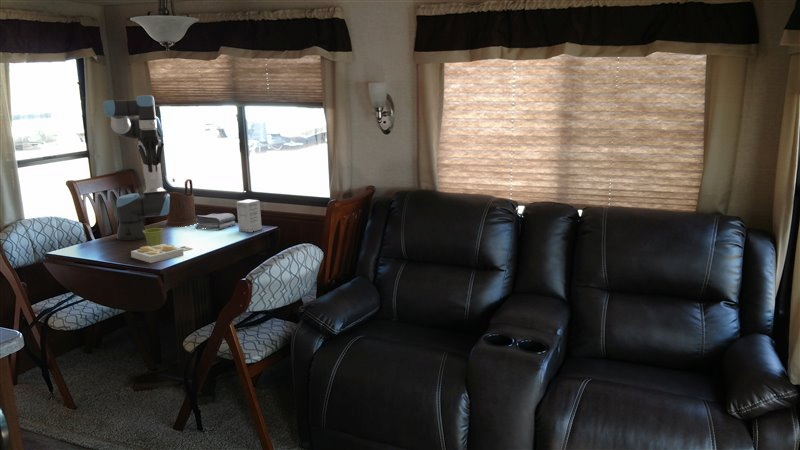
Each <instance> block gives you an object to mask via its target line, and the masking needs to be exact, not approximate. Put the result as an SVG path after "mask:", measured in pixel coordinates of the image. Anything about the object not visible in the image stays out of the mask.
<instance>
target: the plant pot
mask: <svg viewBox="0 0 800 450" xmlns="http://www.w3.org/2000/svg"><path fill="white" fill-rule="evenodd" d="M145 229H146V230H144V231H143V232H144V235H145V240H146V243H147V246H150V247H152V246H156V245H160V244H162V233H163V229H164V228H160V227H152V228H145Z"/></svg>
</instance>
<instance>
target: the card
mask: <svg viewBox="0 0 800 450" xmlns="http://www.w3.org/2000/svg"><path fill="white" fill-rule="evenodd" d="M178 248H181V249H183V252H186V251H190V250H193V249H194V248H193V247H191V246H190V247H189V246H179V247H178Z"/></svg>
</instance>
